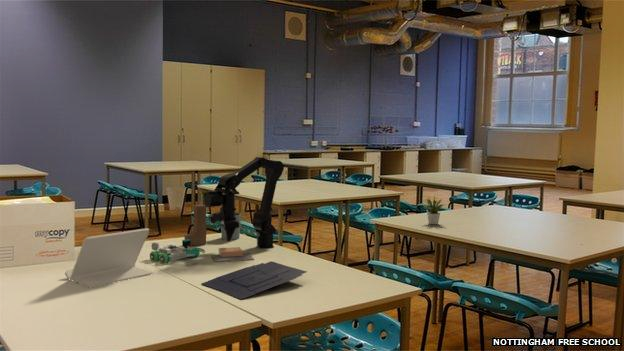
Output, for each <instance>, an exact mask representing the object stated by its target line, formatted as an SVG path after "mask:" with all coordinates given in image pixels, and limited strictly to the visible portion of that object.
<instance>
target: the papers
mask: <svg viewBox="0 0 624 351" xmlns="http://www.w3.org/2000/svg"><path fill="white" fill-rule="evenodd" d="M306 273H308V271H307V270H302V269H299V268H295V267H292V266H288V265H286V264H282V263H278V262H275V261H268V262H265V263H264V262H261V263H259V264H253V265H250V266H248V267H243V268H241V269H237V270H234V271H231V272H229V273H226V274H222V275H219V276H216V277H214V278H212V279H209V280H207V281H205V282H202V283H200V284H201V285H203V286H206V287H209V288H211V289H216V290H218V291H222V292H223V293H226V294H227V295H231V296H233V297H235V298H237V299H240V300H243V299H245V298H249V297H251V296H254V295H256V294H259V293H261V292H264V291H266V290H268V289H271V288H273V287H277V286H279V285H282V284H284V283H287V282H290V281H293V280H296V279H297V278H299V277H302V276H303V274H306Z"/></svg>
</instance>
